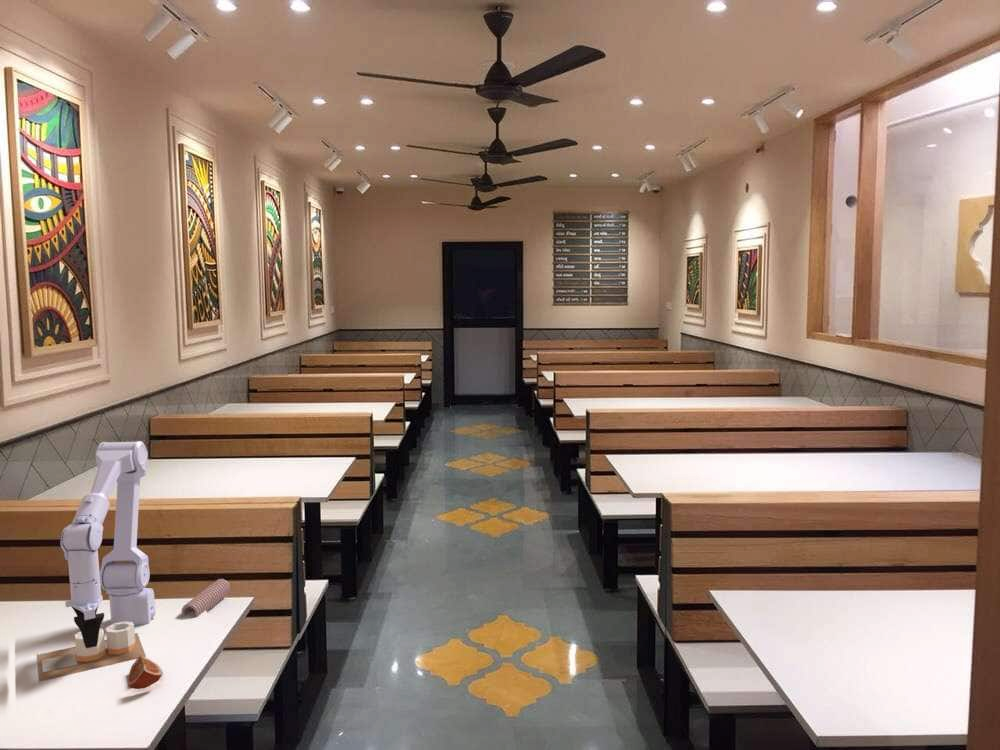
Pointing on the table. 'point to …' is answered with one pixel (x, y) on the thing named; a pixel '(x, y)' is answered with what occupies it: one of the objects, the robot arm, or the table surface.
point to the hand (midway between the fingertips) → (89, 640)
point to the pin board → (67, 661)
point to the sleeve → (93, 652)
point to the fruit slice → (143, 673)
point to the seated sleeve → (120, 638)
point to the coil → (207, 597)
